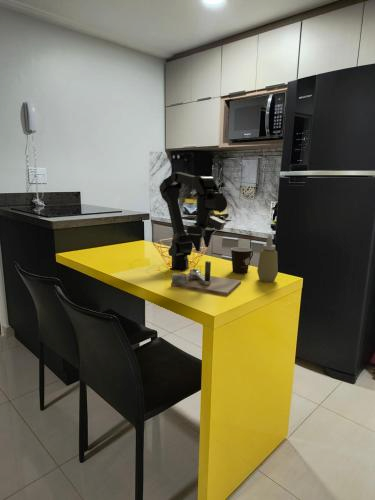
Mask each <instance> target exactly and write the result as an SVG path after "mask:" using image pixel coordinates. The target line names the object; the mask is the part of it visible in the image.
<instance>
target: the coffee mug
mask: <svg viewBox="0 0 375 500" xmlns="http://www.w3.org/2000/svg"><path fill="white" fill-rule="evenodd" d="M230 251H231V265H232V266H231V267H232V273H234V274H237V275H246V274H248V272H249V266H250V261H251V260H252V258H253V255H254V251H253V250H252V249H251V248H249V247H244V246H243V247H242V246H240V247H239V246H236V247H231V248H230Z"/></svg>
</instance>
